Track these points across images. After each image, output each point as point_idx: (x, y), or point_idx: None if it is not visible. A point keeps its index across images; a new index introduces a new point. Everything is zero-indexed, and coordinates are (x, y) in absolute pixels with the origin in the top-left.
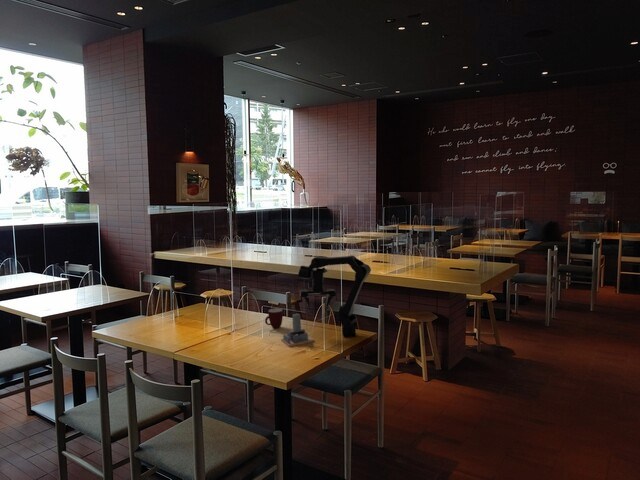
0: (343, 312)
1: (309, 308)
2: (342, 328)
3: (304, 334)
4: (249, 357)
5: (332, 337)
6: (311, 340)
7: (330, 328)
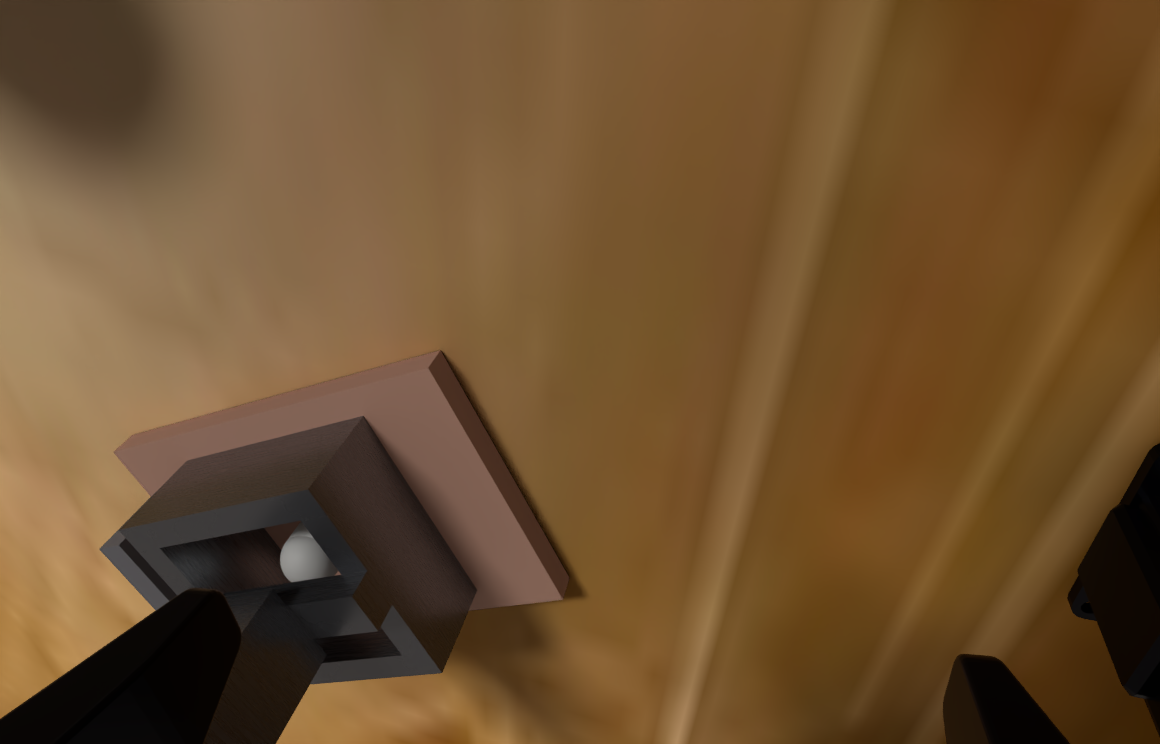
0: None
1: (228, 672)
2: (1120, 677)
3: (399, 672)
4: (16, 680)
5: (872, 536)
6: (525, 600)
7: (1035, 25)
